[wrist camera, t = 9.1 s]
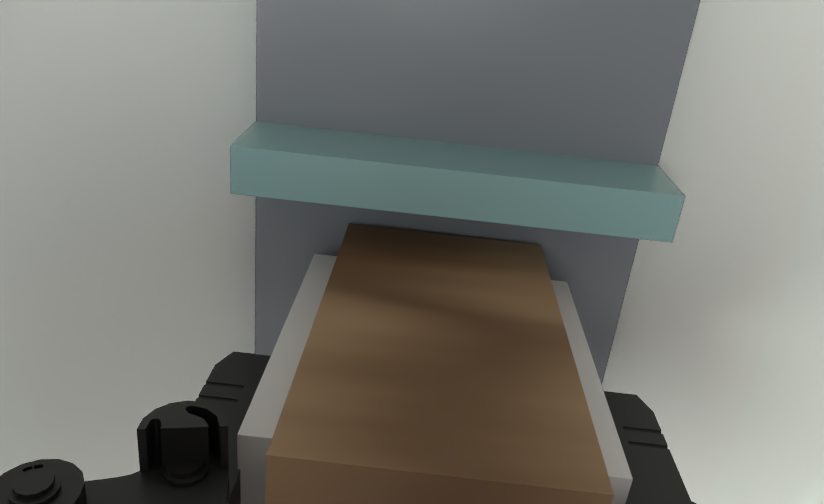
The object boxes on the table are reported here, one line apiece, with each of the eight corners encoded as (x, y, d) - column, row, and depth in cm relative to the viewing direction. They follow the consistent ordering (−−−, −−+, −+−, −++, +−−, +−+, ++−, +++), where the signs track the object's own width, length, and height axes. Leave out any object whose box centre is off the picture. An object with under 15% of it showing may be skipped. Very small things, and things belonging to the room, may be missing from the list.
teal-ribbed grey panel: (259, 412, 20) (233, 478, 17) (266, -283, 13) (225, -332, 11) (578, 448, 20) (595, 518, 17) (748, -232, 13) (814, -269, 11)
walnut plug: (337, 382, 18) (261, 682, 11) (349, 223, 16) (266, 454, 9) (509, 402, 18) (549, 715, 11) (540, 245, 16) (613, 495, 9)
